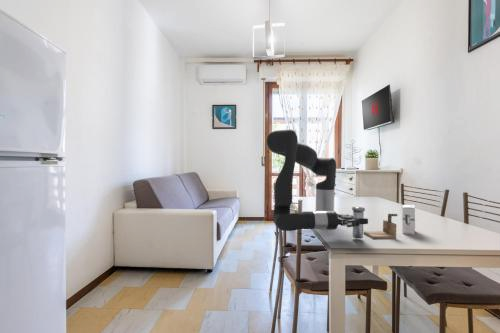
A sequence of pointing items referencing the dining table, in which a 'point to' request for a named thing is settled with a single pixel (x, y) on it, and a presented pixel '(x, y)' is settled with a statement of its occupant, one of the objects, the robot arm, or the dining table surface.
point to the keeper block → (384, 230)
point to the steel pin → (357, 230)
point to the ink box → (408, 219)
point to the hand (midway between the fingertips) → (364, 219)
